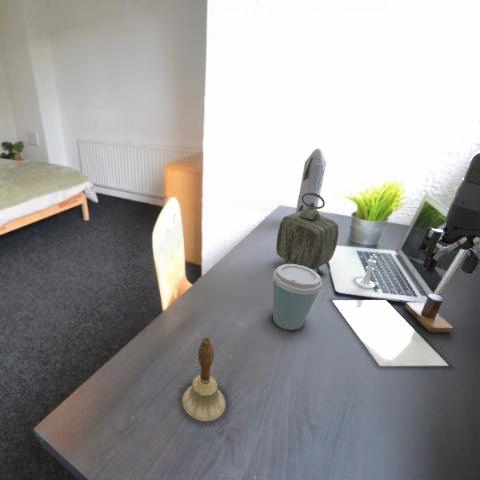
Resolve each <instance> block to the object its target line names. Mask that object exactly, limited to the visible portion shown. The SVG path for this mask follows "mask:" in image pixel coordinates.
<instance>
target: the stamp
mask: <svg viewBox="0 0 480 480" xmlns="http://www.w3.org/2000/svg"><path fill="white" fill-rule="evenodd" d="M443 302H444V298H443V297H442V296H441V295H438V294H435V293H429V294H428V295H427V297H426V299H425V302H424V301H421V302H420V301H417V302H413V301H412V302H411V301H409V302H408V301H407V302H405V303H404V310H405V311H406V312H407V313H408V314H409V315H410V316H411V317H412V318H413V319H414V320H415V321H416V322H417V323H418V324H419V325H420V326H421V327H422V328H423V329H424V330H425V331H426V332H428V334H430V335H432V334H433V335H434V334H435V335H439V334H440V335H441V334H445V335H446V334H450V333H451V332H453V330H454V327H453V326H452V325H451V324H450V323H449V322H448V321H447V320H446V319H444V318H443V317H442V316H441V314H439V311H440V308H441V306H442V304H443Z"/></svg>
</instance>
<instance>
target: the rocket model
mask: <svg viewBox="0 0 480 480" xmlns="http://www.w3.org/2000/svg"><path fill="white" fill-rule="evenodd" d="M326 168H327V162H326V158H325V155H324V153H323V150H322V149H320V148H315V149H313V151H312V152H311V154H310V155H309V156H308V158H306V160H305V161H304V166H303V171H302V176H301V182H300V188H299V193H298V198H297V204H296V210H295V213H296V212H298V211H303V210H304V209H306V208H310V207H308V206H306V205H305V204H304V203H303V202H302V196H303V195H304V194H305V193H315V194H318V195H320V196H321V192H322V188H323V181H324V177H325V172H326ZM303 200H304V201H305V202H306V203H307V204H309V205H310V203H314V206H316V207H319V202H320V198H318V197H316V196H313V195H306V196H304V198H303ZM316 210H317V211H318V209H316Z"/></svg>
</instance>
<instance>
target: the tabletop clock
mask: <svg viewBox="0 0 480 480" xmlns="http://www.w3.org/2000/svg"><path fill="white" fill-rule="evenodd" d="M306 195H313V196H316V197H318V198H319V200H320V201H321V202H322V205H320V206H318V207H316V206H314V203H310V205H309V204H307V203H306V202H305V201H304V200H303V198H304V196H306ZM302 202H303V203H304V204H305V205H306V206H308V207H310V208H306V209H304V210H303V211H298V212H296V211H295V212H293V213H291V214H287V215H284V216H283V218H282V219H281V221H280V225H279V227H278V231H277V236H276V245H275V246H276V247H275V248H276V255H278V256H279V257H280V258H281V259H283V260H285V261H287V262H288V263H289V264H296V265H301V266H305V267H307V268H310V269H312V270H314V271H315V270H317V272H316V273H317V274H318V275H319V276H323V275H324V271H323V270H321V269H320V267H322V266H324V265H326V264H328V263H329V262H330V261H331V260H332V258H333V256H334V254H335V252H336V248H337V246H338V245H337V244H338V241H339V240H338V238H339V224H338V223H337V222H336V221H335V220H333V219H332V218H329V217H327V216H324V215H322V214H320V212H319V210H321V209H322V208H324V207H325V205H326V202H325V200H324V198H323V197H322V196H321V194H320V195H318V194H315V193H305V194H304V195H303V196H302ZM316 209H317V210H316Z"/></svg>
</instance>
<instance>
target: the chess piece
mask: <svg viewBox="0 0 480 480" xmlns="http://www.w3.org/2000/svg"><path fill="white" fill-rule="evenodd" d="M377 258H378V257H377V256H376V254H375V253H373V254H372V255H371V256H369V259H367V264H368V265H366V266H365V269H366V272H365V274H364V275H363V277H362V278H357V279H356V280H355V283H356V284H357V285H358V286H359V287H361V288H365V289H375V287H376V284H375V283H374V281H373V280H371V277H372V276H371V275H372V272H373V271H375V268H374V266H375V265H376V264H377V260H375V259H377Z"/></svg>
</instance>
